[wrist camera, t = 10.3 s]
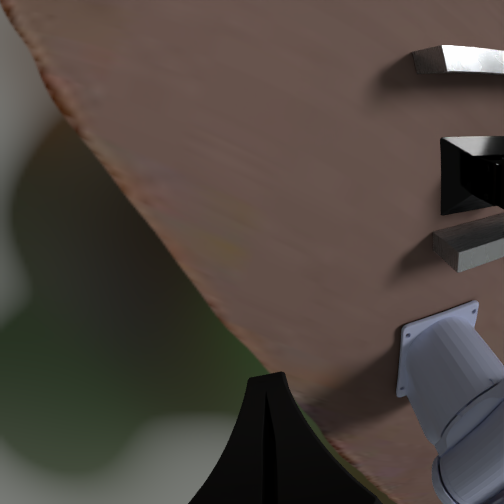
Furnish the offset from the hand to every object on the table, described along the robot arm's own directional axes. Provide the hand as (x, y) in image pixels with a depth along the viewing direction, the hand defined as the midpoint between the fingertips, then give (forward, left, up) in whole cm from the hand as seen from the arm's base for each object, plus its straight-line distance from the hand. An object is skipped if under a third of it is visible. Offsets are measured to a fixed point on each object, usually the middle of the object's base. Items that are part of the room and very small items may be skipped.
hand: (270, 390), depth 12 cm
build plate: (+3, -18, -11) cm, 22 cm away
